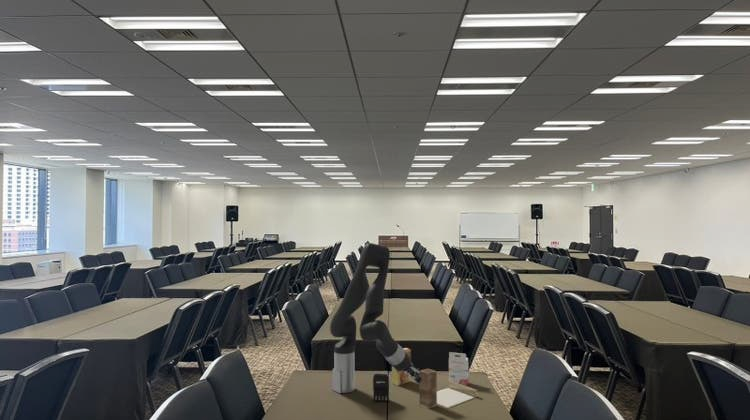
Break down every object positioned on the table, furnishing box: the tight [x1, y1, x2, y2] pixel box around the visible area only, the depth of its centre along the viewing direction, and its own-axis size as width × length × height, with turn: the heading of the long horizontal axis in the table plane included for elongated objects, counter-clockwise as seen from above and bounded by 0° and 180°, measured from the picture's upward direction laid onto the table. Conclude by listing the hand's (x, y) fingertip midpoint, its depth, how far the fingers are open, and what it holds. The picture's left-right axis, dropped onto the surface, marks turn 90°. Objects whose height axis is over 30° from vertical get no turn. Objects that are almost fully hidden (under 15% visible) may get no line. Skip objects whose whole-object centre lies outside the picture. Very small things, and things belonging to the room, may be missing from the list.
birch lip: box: [448, 380, 478, 399], centre depth 207 cm, size 2×15×3 cm, turn 39°
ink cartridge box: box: [448, 351, 470, 387], centre depth 219 cm, size 9×5×15 cm, turn 68°
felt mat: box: [437, 387, 475, 409], centre depth 201 cm, size 17×15×1 cm
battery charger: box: [372, 372, 390, 403], centre depth 198 cm, size 7×4×11 cm, turn 86°
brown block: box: [418, 368, 438, 409], centre depth 193 cm, size 5×5×14 cm
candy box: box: [391, 347, 412, 386], centre depth 221 cm, size 9×4×15 cm, turn 129°
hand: (419, 380), depth 190 cm, fingers closed
